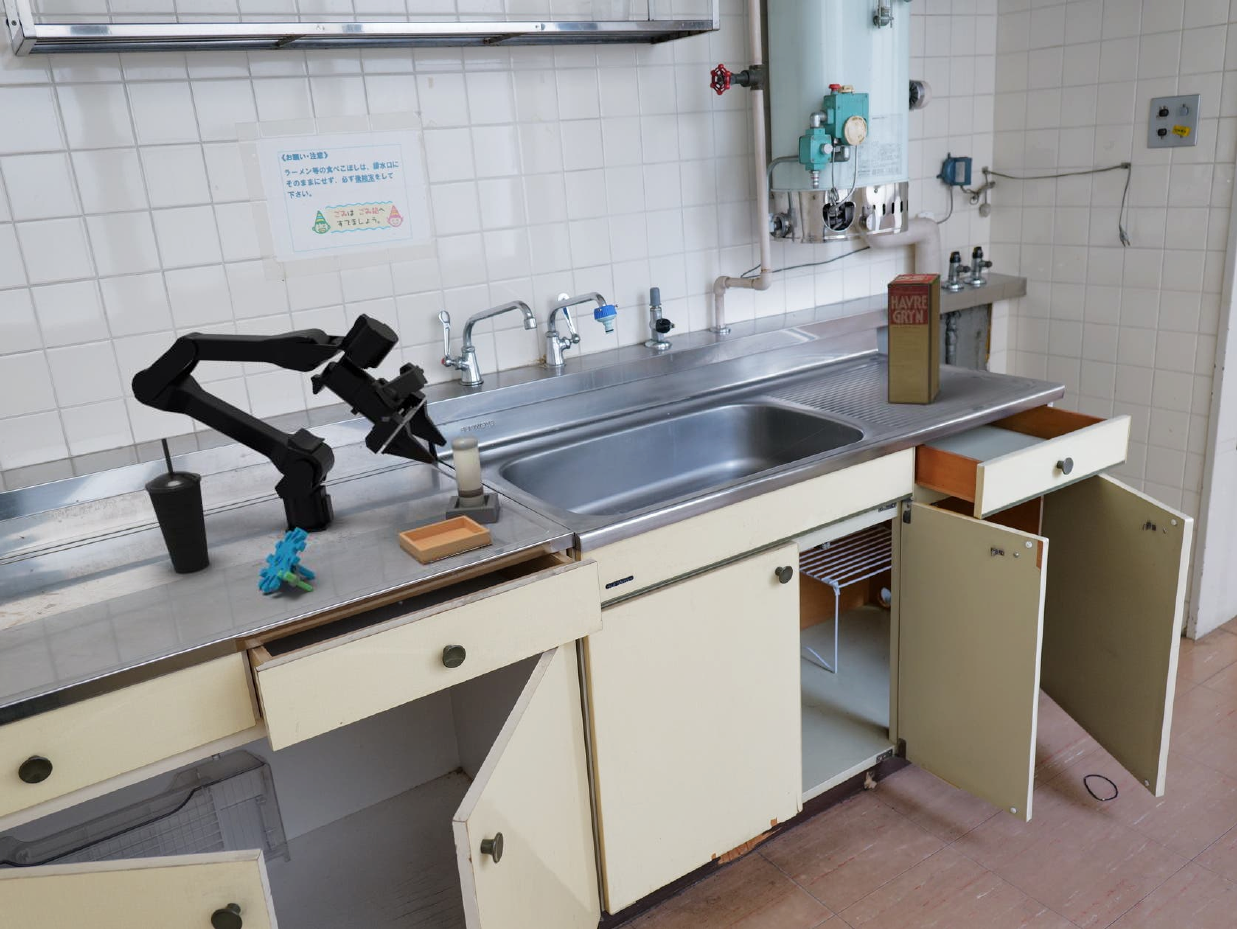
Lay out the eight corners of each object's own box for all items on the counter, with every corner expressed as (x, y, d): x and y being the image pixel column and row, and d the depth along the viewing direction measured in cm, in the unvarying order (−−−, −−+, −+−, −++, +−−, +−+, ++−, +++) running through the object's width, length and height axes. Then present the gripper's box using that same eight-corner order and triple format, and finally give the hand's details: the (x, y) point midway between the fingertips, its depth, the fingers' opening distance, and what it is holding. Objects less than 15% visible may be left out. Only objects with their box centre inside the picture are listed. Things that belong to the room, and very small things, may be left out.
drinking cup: (185, 581, 144) (155, 449, 138) (153, 572, 148) (123, 444, 142) (230, 561, 150) (203, 434, 144) (198, 553, 154) (171, 429, 148)
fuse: (459, 522, 158) (448, 444, 155) (462, 512, 162) (452, 436, 159) (485, 519, 158) (475, 441, 155) (488, 510, 162) (478, 434, 159)
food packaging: (896, 388, 218) (897, 273, 211) (941, 389, 214) (943, 272, 207) (885, 403, 207) (885, 282, 199) (932, 405, 203) (934, 282, 195)
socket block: (447, 526, 157) (445, 511, 156) (453, 510, 164) (451, 495, 163) (495, 522, 157) (493, 507, 156) (499, 506, 164) (497, 492, 163)
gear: (252, 566, 143) (295, 513, 142) (287, 585, 146) (329, 533, 145) (256, 605, 133) (302, 549, 133) (293, 624, 136) (339, 569, 136)
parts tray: (422, 565, 143) (420, 550, 142) (399, 547, 150) (397, 533, 149) (491, 544, 148) (489, 531, 147) (466, 528, 155) (464, 515, 155)
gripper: (374, 364, 144) (459, 432, 146) (405, 340, 161) (480, 401, 164) (330, 420, 147) (414, 486, 149) (365, 390, 164) (439, 449, 167)
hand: (439, 452), depth 157 cm, fingers open, 9 cm apart
